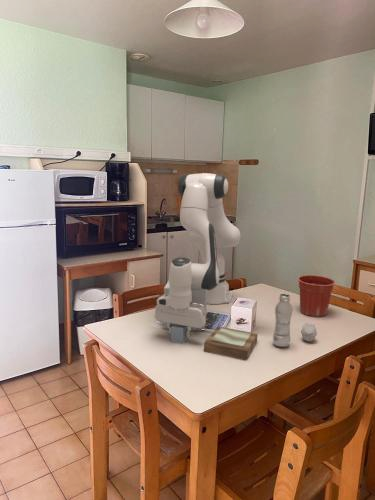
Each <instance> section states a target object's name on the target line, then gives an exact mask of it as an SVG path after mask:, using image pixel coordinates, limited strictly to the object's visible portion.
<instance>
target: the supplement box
mask: <svg viewBox="0 0 375 500" xmlns="http://www.w3.org/2000/svg"><path fill="white" fill-rule="evenodd" d="M169 289H170V285H169V279H168V280H167V282H166V284H165V286H164V287H163V295H165V294H169ZM191 291H192V303H197V304H202V305H203V306H204V307H205V308H206V309H207V303H206V296H207V290H206V289H201V288H194V287H191ZM205 320H206V321H207V312H206V313H205ZM172 325H173V324H172ZM204 328H205V329H206V325H205V326H204V327H203V328H201V329H199V328H194V327H193V328H192V329H191V331H195V332H196V331H197V332H203V331H202V329H204ZM163 329H164V330H168V329H169V328H168V326H167V322H163ZM169 330H170V329H169ZM188 330H189V329H188Z"/></svg>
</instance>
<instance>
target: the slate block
mask: <svg viewBox="0 0 375 500" xmlns="http://www.w3.org/2000/svg"><path fill="white" fill-rule="evenodd" d="M186 331H188V329H187V326H183V325H178V324H173V325H172V326H171V333H170V341H171V342H174V343H177V344H178V343H179V344H184V343H185V342H186V341H187V340H188V339H189V337H186V336H185V332H186Z"/></svg>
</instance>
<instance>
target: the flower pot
mask: <svg viewBox="0 0 375 500" xmlns="http://www.w3.org/2000/svg"><path fill="white" fill-rule="evenodd" d="M297 281H298V287H299V312H300V313H301V314H303V315H304V316H311V317H313V318H322V317H326V316H327V314H328V311H329V310H328V309H329V306H330V300H331V296H332V295H331V294H332V292H333V288H334V285H335V283H336V281H335V280H334V279H332V278H329V277H327V276H322V275H321V276H320V275H314V274H313V275H300V276H298V277H297Z"/></svg>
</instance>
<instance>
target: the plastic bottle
mask: <svg viewBox="0 0 375 500" xmlns="http://www.w3.org/2000/svg"><path fill="white" fill-rule="evenodd" d="M278 300H279V301H278V302H277V304H276V305H275V308H274V313H275V325H274V331H273V335H272V343H273V345H274V346H276V347H279V348H287V347H288V346H289V345H290V343H291V334H290V333H291V332H290V331H291V330H290V329H291V319H292V316H293V311H294V310H293V306H292V304H291V303H290V301H291V296H290V294H288V293H280V294H279V298H278Z"/></svg>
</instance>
